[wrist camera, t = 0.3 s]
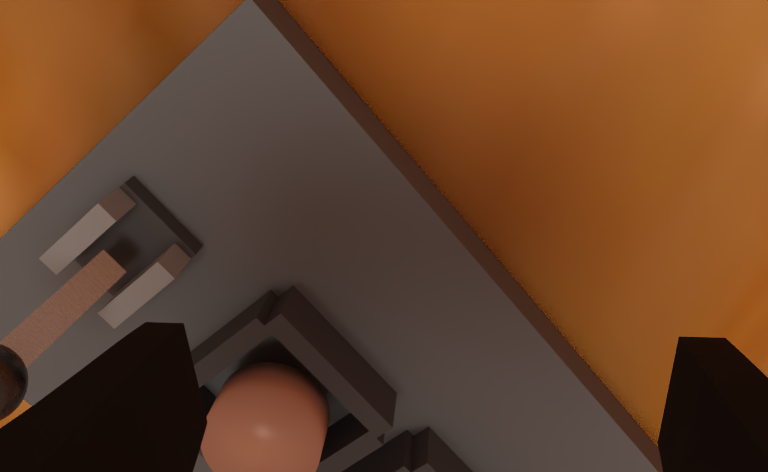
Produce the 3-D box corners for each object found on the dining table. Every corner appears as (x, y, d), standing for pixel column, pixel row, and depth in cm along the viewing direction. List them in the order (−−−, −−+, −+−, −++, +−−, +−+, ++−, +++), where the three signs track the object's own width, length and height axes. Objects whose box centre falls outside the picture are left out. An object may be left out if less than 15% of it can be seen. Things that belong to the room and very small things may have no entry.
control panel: (430, 695, 29) (426, 800, 25) (-34, 283, 23) (-121, 345, 19) (743, 549, 24) (792, 651, 21) (269, -10, 18) (227, 2, 15)
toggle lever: (121, 300, 19) (-30, 449, 15) (70, 252, 18) (-96, 395, 15) (149, 279, 18) (-7, 436, 14) (96, 227, 17) (-79, 376, 14)
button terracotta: (272, 472, 21) (259, 513, 19) (195, 401, 20) (175, 437, 18) (353, 419, 20) (345, 458, 18) (275, 341, 19) (260, 375, 17)
